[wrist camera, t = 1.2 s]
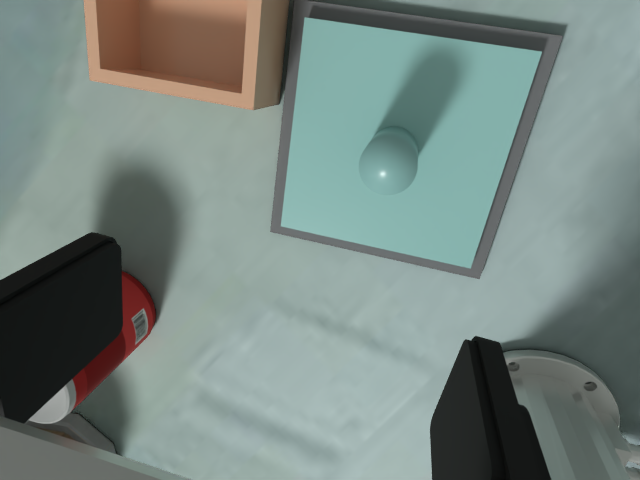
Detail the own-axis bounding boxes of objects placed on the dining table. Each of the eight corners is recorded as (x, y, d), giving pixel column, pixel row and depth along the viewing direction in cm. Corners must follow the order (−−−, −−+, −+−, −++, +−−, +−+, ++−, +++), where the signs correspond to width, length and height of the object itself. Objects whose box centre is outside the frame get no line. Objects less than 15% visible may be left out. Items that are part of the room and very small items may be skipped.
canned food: (117, 251, 37) (7, 316, 27) (175, 318, 39) (90, 404, 29) (70, 288, 40) (-45, 360, 30) (125, 350, 42) (33, 437, 32)
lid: (538, 52, 24) (571, 46, 19) (469, 263, 30) (480, 304, 25) (307, 18, 26) (279, 5, 21) (283, 222, 32) (257, 252, 27)
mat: (559, 36, 24) (563, 35, 24) (478, 275, 31) (479, 279, 30) (297, 0, 27) (294, -2, 26) (272, 229, 33) (270, 231, 32)
